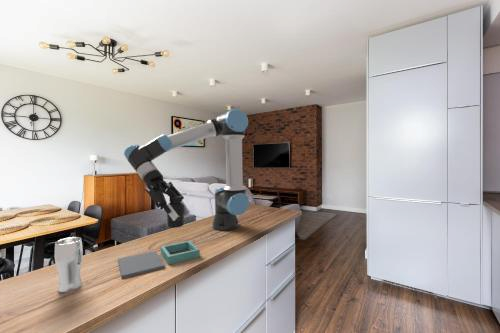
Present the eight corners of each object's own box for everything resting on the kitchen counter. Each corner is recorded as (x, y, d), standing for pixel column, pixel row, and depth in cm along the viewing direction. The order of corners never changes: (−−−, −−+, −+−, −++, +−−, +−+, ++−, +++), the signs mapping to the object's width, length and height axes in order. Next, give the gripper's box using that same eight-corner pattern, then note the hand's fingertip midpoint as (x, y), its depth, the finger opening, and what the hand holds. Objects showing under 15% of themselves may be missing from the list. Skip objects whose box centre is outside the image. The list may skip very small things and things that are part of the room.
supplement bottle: (174, 229, 92) (174, 198, 92) (163, 226, 96) (162, 196, 95) (187, 224, 98) (187, 196, 98) (176, 222, 102) (176, 194, 101)
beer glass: (53, 296, 70) (51, 246, 69) (59, 284, 76) (57, 238, 76) (82, 289, 73) (80, 242, 73) (85, 279, 79) (83, 235, 79)
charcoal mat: (155, 253, 101) (155, 250, 101) (164, 267, 87) (164, 265, 87) (117, 261, 93) (117, 258, 93) (121, 278, 80) (121, 275, 80)
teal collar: (189, 247, 107) (189, 240, 107) (199, 256, 97) (199, 249, 97) (160, 253, 100) (160, 246, 100) (168, 264, 90) (168, 256, 90)
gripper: (162, 178, 111) (191, 216, 106) (126, 183, 93) (159, 229, 88) (171, 167, 109) (201, 205, 104) (135, 170, 91) (170, 216, 85)
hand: (182, 216), depth 96 cm, fingers closed on supplement bottle, 7 cm apart
